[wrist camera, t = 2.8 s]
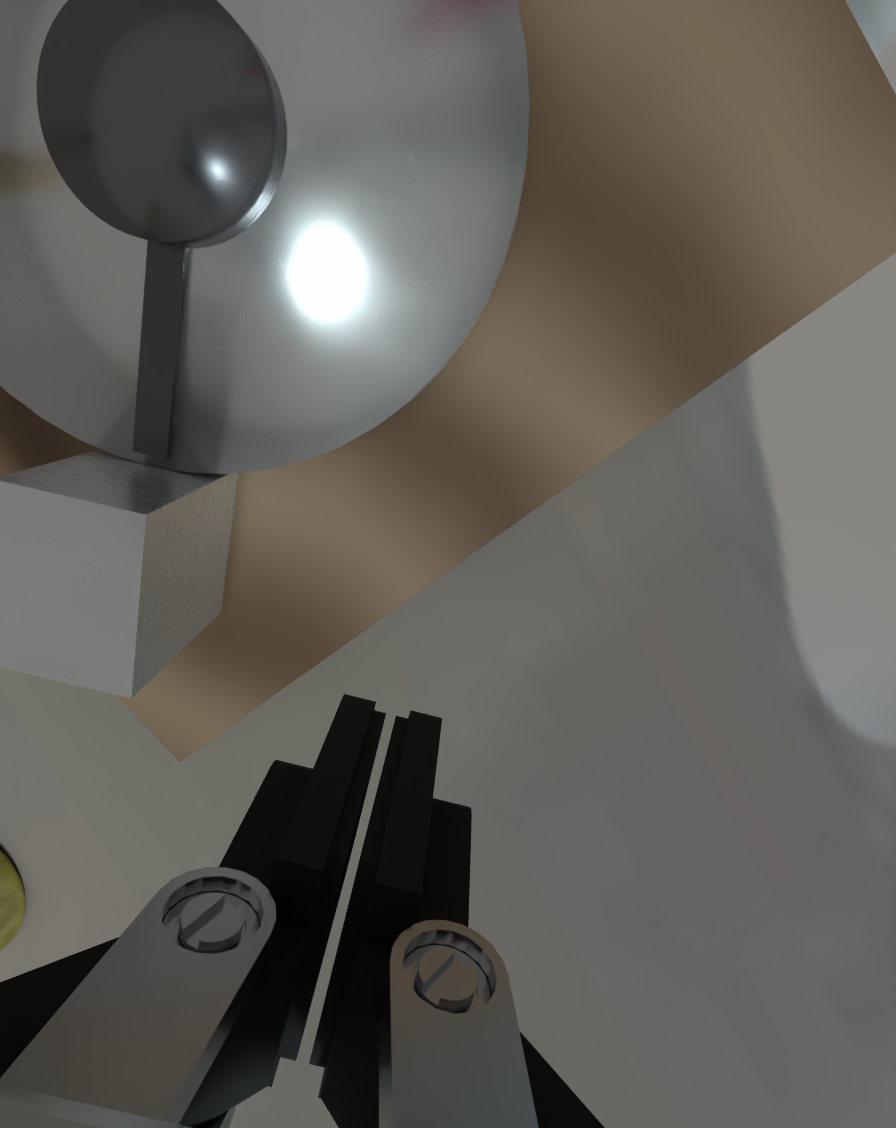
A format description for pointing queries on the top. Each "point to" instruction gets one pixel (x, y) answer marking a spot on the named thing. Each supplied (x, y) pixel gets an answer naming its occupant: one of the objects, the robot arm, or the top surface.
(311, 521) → the base plate
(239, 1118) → the top surface
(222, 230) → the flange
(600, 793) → the top surface
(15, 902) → the vase
